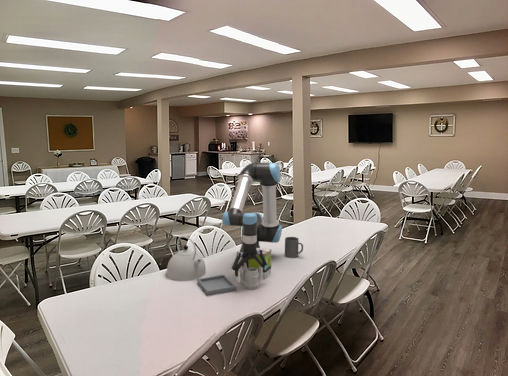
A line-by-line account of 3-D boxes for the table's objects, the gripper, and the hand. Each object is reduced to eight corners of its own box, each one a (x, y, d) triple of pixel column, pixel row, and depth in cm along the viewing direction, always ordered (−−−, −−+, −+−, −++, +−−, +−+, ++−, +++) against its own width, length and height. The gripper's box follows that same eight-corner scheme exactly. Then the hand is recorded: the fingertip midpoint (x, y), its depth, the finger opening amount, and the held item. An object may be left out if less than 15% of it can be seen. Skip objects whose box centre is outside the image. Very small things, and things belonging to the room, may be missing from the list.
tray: (197, 283, 211) (197, 279, 211) (224, 278, 218) (224, 274, 218) (207, 295, 195) (207, 291, 195) (236, 290, 202) (236, 286, 202)
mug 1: (252, 290, 202) (252, 269, 200) (237, 284, 210) (237, 263, 208) (262, 286, 207) (262, 265, 205) (247, 280, 215) (247, 260, 214)
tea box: (271, 273, 227) (271, 249, 225) (264, 279, 218) (265, 254, 216) (248, 269, 233) (248, 245, 231) (241, 274, 224) (241, 250, 222)
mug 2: (282, 256, 258) (282, 238, 257) (289, 252, 265) (290, 236, 264) (299, 260, 250) (299, 242, 248) (306, 256, 257) (306, 239, 255)
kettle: (216, 274, 225) (215, 237, 221) (184, 285, 209) (183, 245, 205) (190, 264, 242) (189, 229, 238) (159, 273, 226) (158, 236, 222)
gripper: (230, 246, 196) (230, 286, 199) (273, 241, 207) (273, 278, 210) (225, 243, 203) (225, 281, 206) (267, 237, 214) (266, 274, 217)
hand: (249, 280), depth 208 cm, fingers open, 13 cm apart
